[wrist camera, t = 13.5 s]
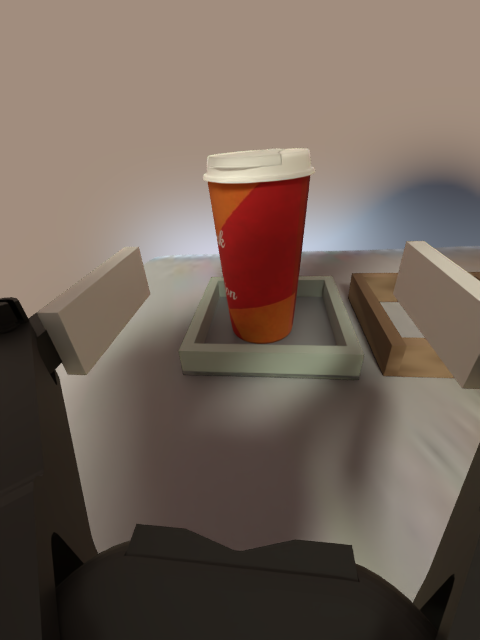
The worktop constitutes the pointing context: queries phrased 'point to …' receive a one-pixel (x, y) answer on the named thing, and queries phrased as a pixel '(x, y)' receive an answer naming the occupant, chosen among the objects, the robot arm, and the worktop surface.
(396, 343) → the walnut tray
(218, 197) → the coffee cup
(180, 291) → the worktop surface
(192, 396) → the worktop surface
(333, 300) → the green square tray
